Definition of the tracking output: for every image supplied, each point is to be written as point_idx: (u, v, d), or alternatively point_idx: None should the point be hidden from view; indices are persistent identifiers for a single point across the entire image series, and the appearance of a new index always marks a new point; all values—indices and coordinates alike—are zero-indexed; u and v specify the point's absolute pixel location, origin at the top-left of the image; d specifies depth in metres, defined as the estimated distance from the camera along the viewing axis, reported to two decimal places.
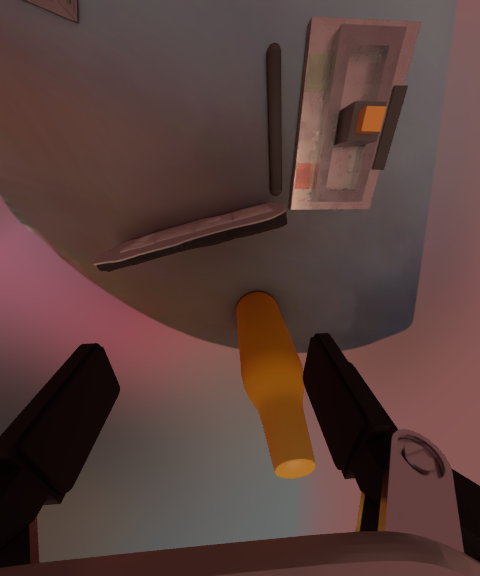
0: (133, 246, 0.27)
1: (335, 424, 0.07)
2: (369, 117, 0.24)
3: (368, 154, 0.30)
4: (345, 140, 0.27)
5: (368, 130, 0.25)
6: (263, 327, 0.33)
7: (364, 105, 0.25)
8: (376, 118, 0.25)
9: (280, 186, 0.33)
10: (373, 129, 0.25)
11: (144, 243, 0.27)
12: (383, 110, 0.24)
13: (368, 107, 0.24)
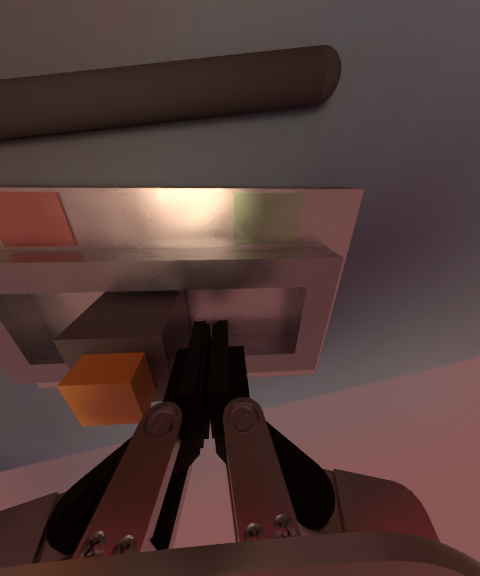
0: None
1: None
2: (104, 395, 0.07)
3: None
4: (67, 330, 0.08)
5: (69, 402, 0.07)
6: None
7: (156, 359, 0.08)
8: (109, 411, 0.08)
9: None
10: (79, 412, 0.08)
11: None
12: (133, 419, 0.08)
13: (127, 386, 0.07)
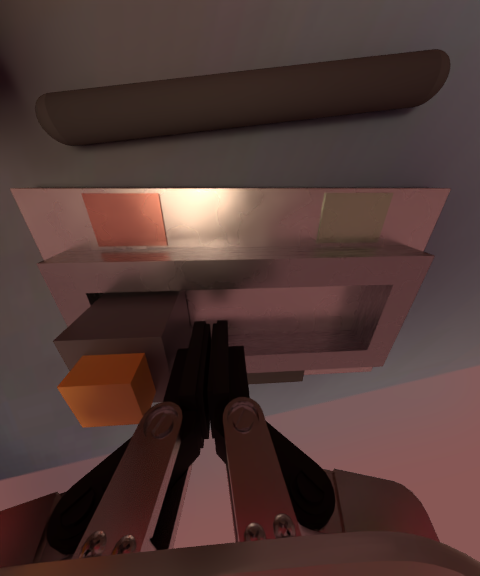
0: None
1: None
2: (104, 396, 0.07)
3: None
4: (67, 331, 0.08)
5: (70, 403, 0.07)
6: None
7: (157, 360, 0.08)
8: (109, 412, 0.08)
9: (71, 134, 0.09)
10: (79, 413, 0.08)
11: None
12: (134, 420, 0.08)
13: (128, 387, 0.07)
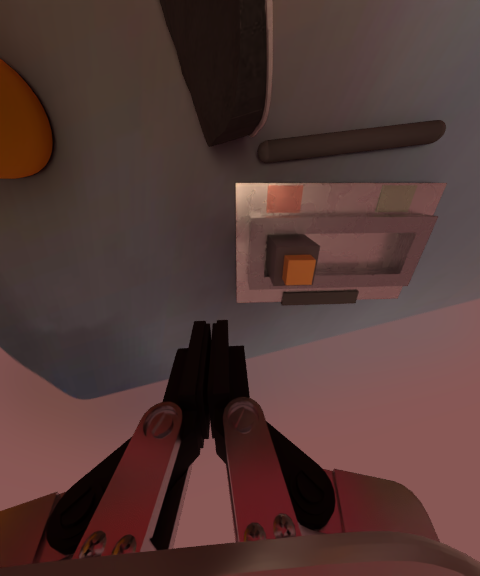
0: None
1: None
2: (303, 267, 0.18)
3: None
4: (277, 245, 0.19)
5: (288, 270, 0.18)
6: None
7: (313, 259, 0.19)
8: (300, 276, 0.18)
9: (272, 158, 0.19)
10: (288, 276, 0.18)
11: None
12: (307, 282, 0.19)
13: (314, 262, 0.18)
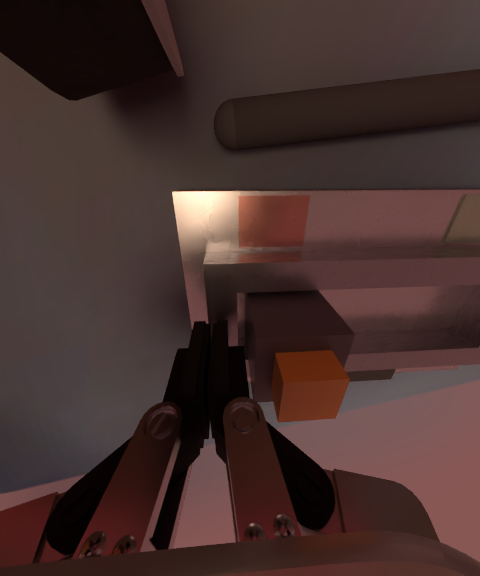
0: None
1: None
2: (318, 391, 0.07)
3: None
4: (258, 329, 0.08)
5: (284, 398, 0.08)
6: None
7: (338, 357, 0.09)
8: (312, 407, 0.08)
9: (245, 139, 0.09)
10: (285, 408, 0.08)
11: None
12: (327, 415, 0.08)
13: (344, 383, 0.07)
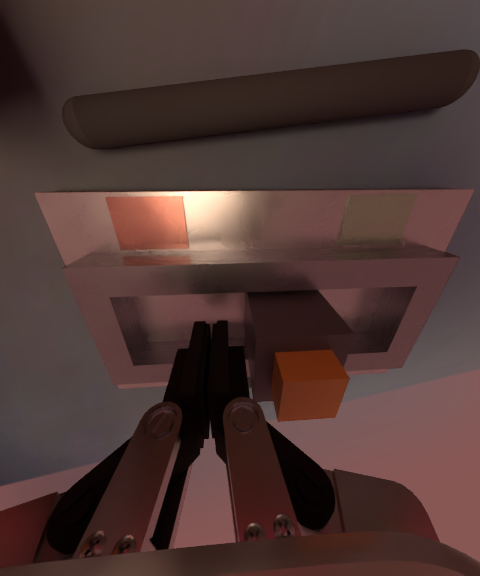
0: None
1: None
2: (317, 391, 0.08)
3: None
4: (257, 329, 0.08)
5: (283, 398, 0.08)
6: None
7: (338, 356, 0.09)
8: (311, 406, 0.08)
9: (97, 138, 0.09)
10: (284, 407, 0.08)
11: None
12: (327, 414, 0.08)
13: (344, 382, 0.07)
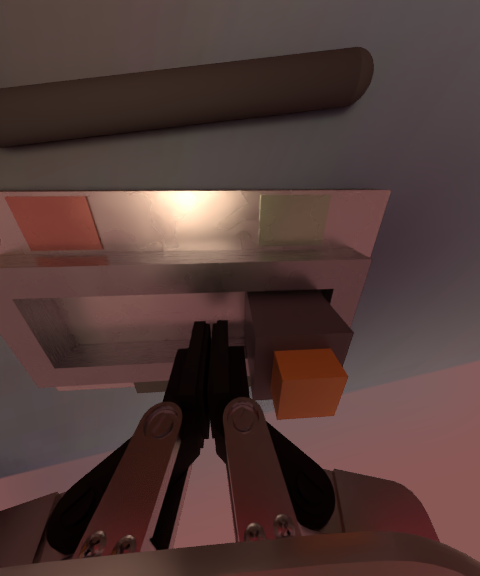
0: None
1: None
2: (316, 389, 0.08)
3: (141, 373, 0.13)
4: (257, 328, 0.09)
5: (282, 396, 0.08)
6: None
7: (337, 355, 0.09)
8: (310, 404, 0.08)
9: None
10: (283, 405, 0.08)
11: None
12: (326, 413, 0.08)
13: (343, 380, 0.07)
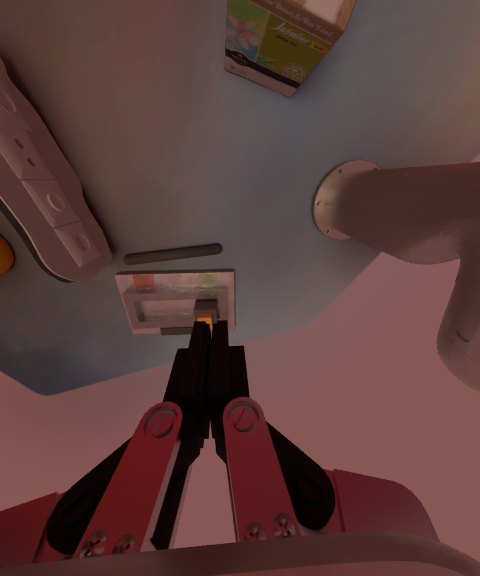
0: None
1: None
2: (205, 320, 0.36)
3: (164, 324, 0.41)
4: (194, 308, 0.37)
5: None
6: None
7: (214, 315, 0.37)
8: None
9: (131, 264, 0.37)
10: None
11: None
12: None
13: (210, 318, 0.36)
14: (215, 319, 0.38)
